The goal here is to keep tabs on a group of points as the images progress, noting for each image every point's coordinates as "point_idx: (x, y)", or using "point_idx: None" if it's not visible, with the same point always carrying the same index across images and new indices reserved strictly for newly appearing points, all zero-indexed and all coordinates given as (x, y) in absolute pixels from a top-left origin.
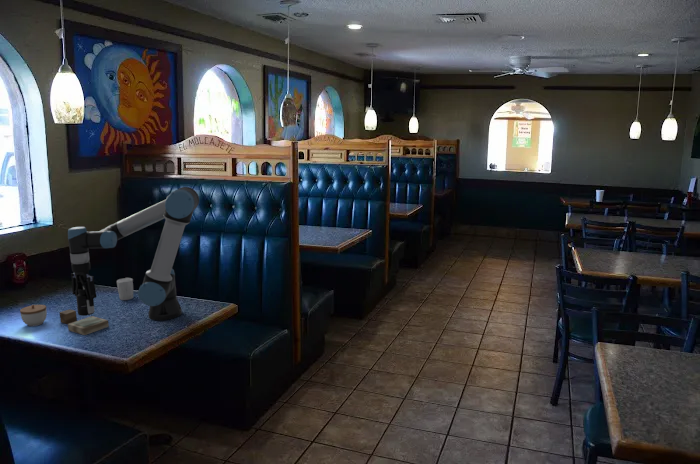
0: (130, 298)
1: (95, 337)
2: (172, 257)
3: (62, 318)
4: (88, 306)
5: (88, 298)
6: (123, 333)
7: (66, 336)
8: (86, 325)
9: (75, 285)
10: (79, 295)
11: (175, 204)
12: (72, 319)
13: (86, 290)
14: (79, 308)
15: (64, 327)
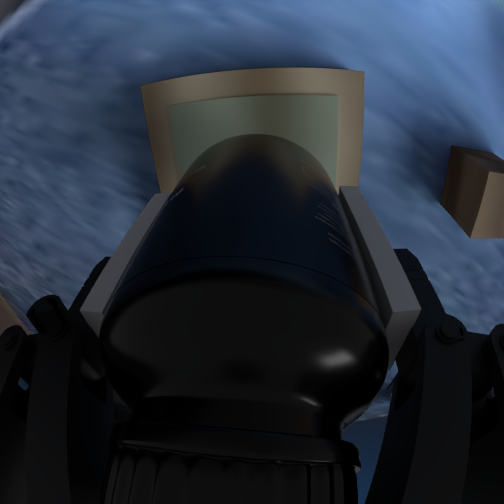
0: (391, 394)
1: (81, 114)
2: None
3: (495, 161)
4: (121, 242)
5: (36, 326)
6: (53, 223)
7: (247, 2)
8: (183, 126)
9: (496, 499)
10: (188, 357)
11: None
12: (453, 187)
13: (30, 463)
14: (227, 160)
15: (422, 99)
